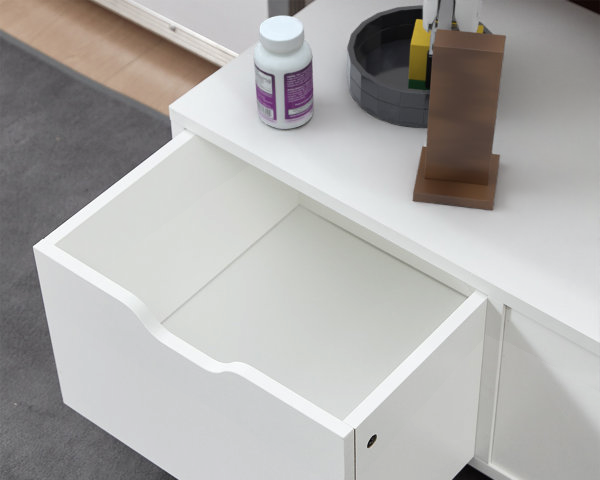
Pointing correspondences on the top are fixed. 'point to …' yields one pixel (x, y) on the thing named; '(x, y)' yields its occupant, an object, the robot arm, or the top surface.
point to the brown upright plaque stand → (462, 121)
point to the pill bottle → (283, 73)
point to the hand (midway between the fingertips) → (445, 71)
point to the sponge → (421, 55)
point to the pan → (387, 67)
